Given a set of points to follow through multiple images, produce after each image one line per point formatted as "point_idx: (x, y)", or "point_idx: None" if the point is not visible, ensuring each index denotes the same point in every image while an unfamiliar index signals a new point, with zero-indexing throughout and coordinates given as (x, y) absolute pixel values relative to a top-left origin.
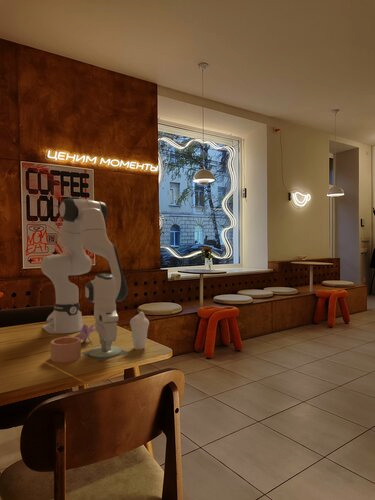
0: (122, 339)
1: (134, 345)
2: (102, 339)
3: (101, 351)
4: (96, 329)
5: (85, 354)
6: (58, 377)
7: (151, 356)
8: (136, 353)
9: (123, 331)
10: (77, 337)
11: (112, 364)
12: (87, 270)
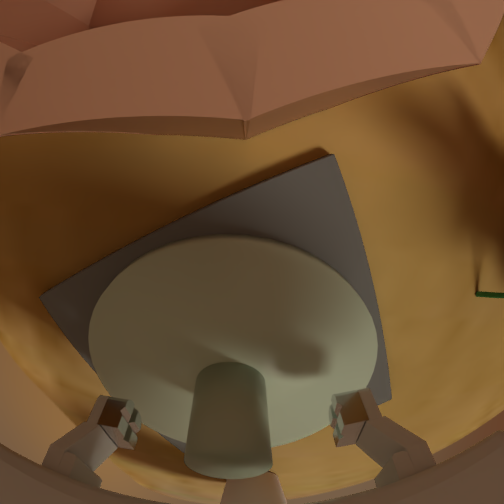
0: (436, 427)
1: (244, 487)
2: (360, 436)
3: (213, 360)
4: (480, 469)
5: (237, 196)
6: None
7: (128, 470)
8: (178, 462)
9: (500, 408)
10: (446, 61)
11: (16, 340)
12: None
